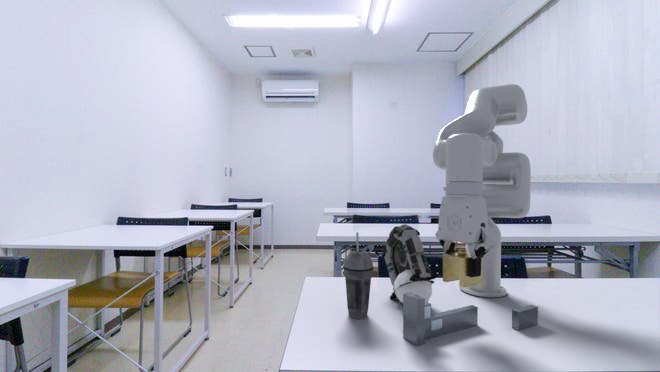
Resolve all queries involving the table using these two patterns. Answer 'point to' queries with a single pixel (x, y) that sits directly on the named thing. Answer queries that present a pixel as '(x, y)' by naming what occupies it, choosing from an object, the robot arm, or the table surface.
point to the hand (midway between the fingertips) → (462, 272)
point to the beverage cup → (358, 282)
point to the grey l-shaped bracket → (433, 319)
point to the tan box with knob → (459, 269)
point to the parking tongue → (524, 317)
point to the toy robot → (407, 263)
